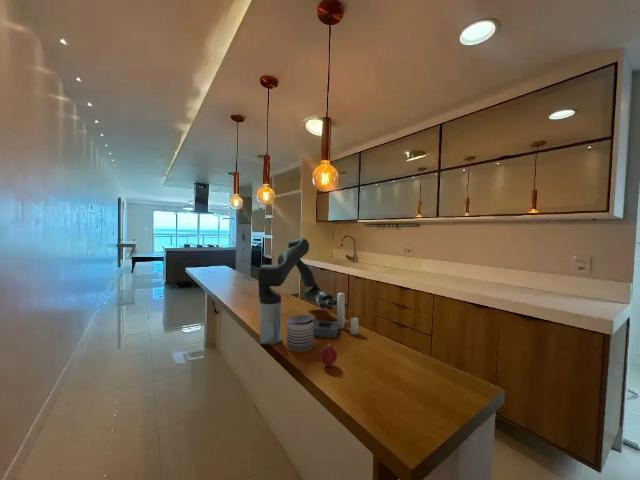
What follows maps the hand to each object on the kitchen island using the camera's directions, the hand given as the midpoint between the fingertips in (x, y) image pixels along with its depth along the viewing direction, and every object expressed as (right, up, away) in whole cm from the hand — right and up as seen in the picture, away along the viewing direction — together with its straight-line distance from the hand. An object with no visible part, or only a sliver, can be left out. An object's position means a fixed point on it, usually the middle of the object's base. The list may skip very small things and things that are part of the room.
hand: (338, 306), depth 140 cm
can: (-18, -11, -24) cm, 32 cm away
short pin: (+7, -10, -10) cm, 16 cm away
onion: (-6, -11, -41) cm, 43 cm away
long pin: (+1, -10, -2) cm, 10 cm away
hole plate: (-7, -10, -9) cm, 15 cm away
